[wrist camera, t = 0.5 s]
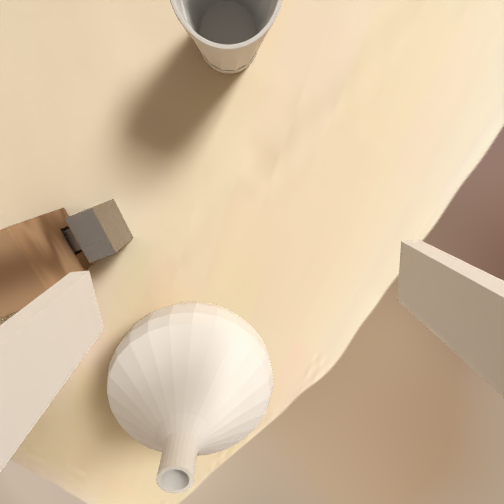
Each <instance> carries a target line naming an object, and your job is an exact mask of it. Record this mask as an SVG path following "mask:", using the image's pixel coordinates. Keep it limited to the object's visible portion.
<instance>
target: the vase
mask: <svg viewBox="0 0 504 504" xmlns="http://www.w3.org/2000/svg"><path fill="white" fill-rule="evenodd" d="M272 389H273V378H272V367H271V362H270V358H269V355H268V353H267V350H266V347H265V344H264V342H263V341H262V339H261V338H260V337H259V335H258V334H257V333H256V331H255V330H254V329H253V327H252V326H250V325H249V324H248V323H247V322H245V321H244V320H243V319H241V318H240V317H239V316H238V315H236V314H235V313H234V312H232V311H231V310H229V309H226V308H224V307H222V306H219V305H217V304H213V303H207V302H201V301H191V302H180V303H177V304H174V305H171V306H168V307H164V308H162V309H159V310H156V311H154V312H152V313H150V314H149V315H147V316H146V317H144V318H143V319H141V320H139V321H138V322H136V323H135V324H134V326H133V327H132V328H131V329H130V330H129V331H128V332H127V333H126V335H125V336H124V337H123V338H122V340H121V342H120V343H119V345H118V346H117V348H116V350H115V352H114V355H113V357H112V359H111V361H110V363H109V368H108V378H107V395H108V400H109V404H110V409H111V411H112V413H113V415H114V416H115V418H116V420H117V421H118V423H119V425H120V426H121V427H122V428H123V429H124V430H125V431H126V432H127V433H128V434H129V435H130V436H131V437H132V438H133V439H135V440H137V441H138V442H140V443H142V444H143V445H145V446H147V447H149V448H151V449H154V450H157V451H160V452H162V456H161V461H160V465H159V469H158V474H157V478H156V481H157V484H158V486H159V487H160V488H161V489H162V490H164V491H165V492H169V493H181V492H184V491H186V490H188V489H189V488H190V487H191V486H192V484H193V480H194V472H195V464H196V456H199V455H208V454H212V453H215V452H218V451H222V450H225V449H227V448H229V447H231V446H233V445H235V444H237V443H238V442H240V441H242V440H243V439H244V438H246V437H247V436H248V435H249V434H250V433H251V432H252V431H253V430H254V429H255V428H256V427H257V425H258V424H259V422H260V421H261V419H262V418H263V416H264V414H265V412H266V410H267V407H268V404H269V400H270V396H271V393H272Z"/></svg>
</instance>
